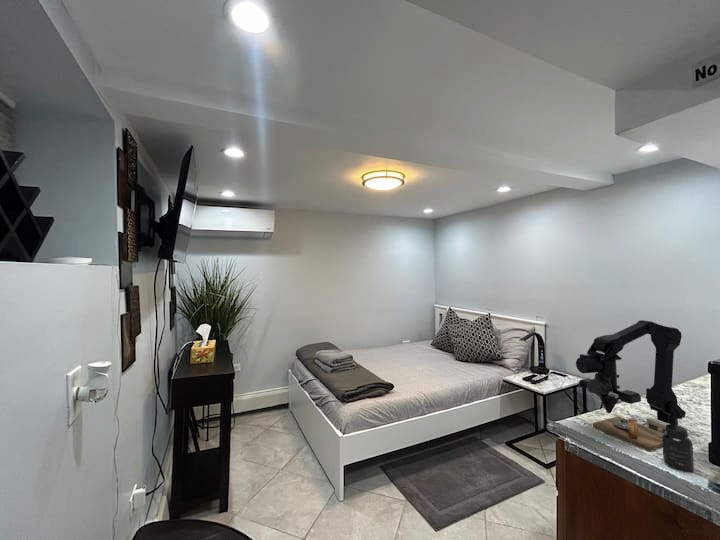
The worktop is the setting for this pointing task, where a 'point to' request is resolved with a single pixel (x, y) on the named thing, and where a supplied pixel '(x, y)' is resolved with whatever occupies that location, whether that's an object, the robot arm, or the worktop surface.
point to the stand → (647, 435)
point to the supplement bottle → (677, 448)
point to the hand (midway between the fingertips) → (608, 412)
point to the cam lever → (628, 426)
